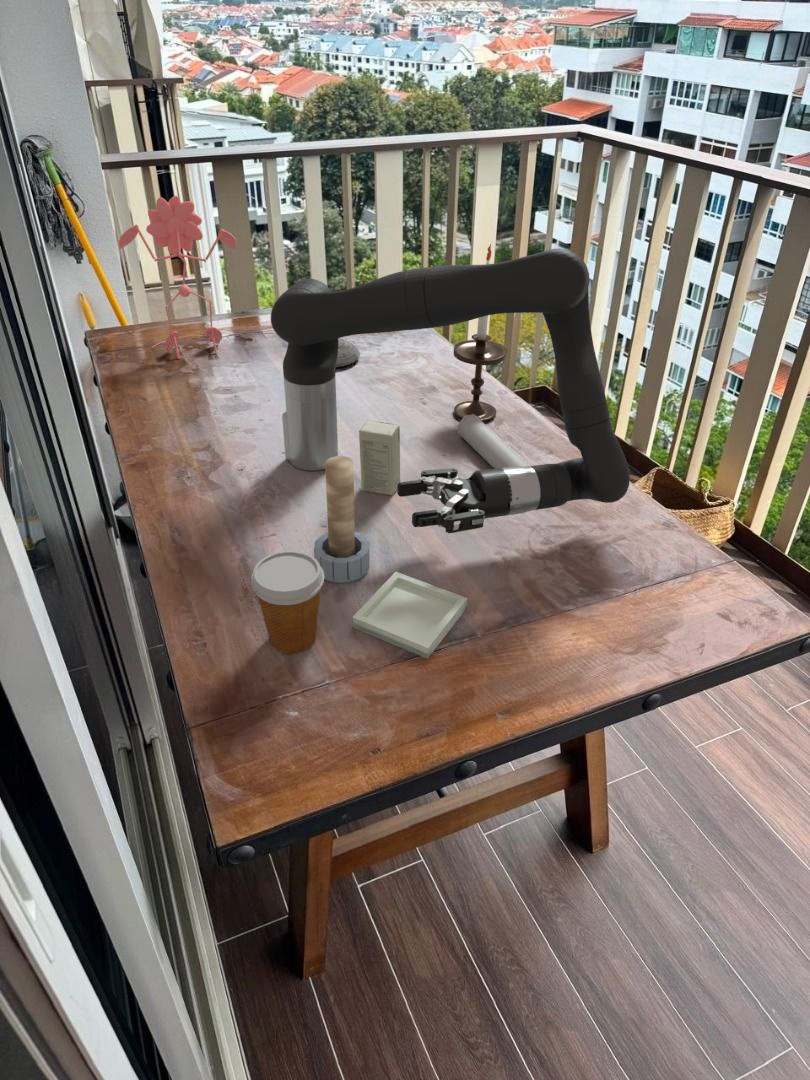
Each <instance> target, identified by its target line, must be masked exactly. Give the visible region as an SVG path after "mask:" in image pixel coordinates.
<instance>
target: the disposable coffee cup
mask: <svg viewBox="0 0 810 1080" xmlns="http://www.w3.org/2000/svg"><path fill="white" fill-rule="evenodd" d="M324 581H325V580H324V571H323V569H322V568H321V566H320V565H319V563H318V561H317V560H316V559H315V558H314V555H311V554H309V553H306V552H304V551H300V550H281V551H277V552H274V553H273V552H272V553H271V554H269V555H267V556H265V557H263V558H262V559H260V560H259V561H258V562H257V564H256V565H255V567H254V569H253V572H252V574H251V578H250V584H251V587H252V590H253V592H254V593H255V594H256V597H257V599H258V602H259V605H260V609H261V613H262V616H263V620H264V623H265V627H266V630H267V634H268V637H269V641H270V646H272V648H274V650H276V651H278V652H280V653H283V654H291V655H292V654H299V653H302V652H305V651H307V650H308V649H310V648H311V647H312V646H313V645H314V644H315V642H316V638H317V631H318V630H317V628H318V619H319V610H320V609H319V608H320V599H321V590H322V587H323V584H324Z"/></svg>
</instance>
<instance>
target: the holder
mask: <svg viewBox="0 0 810 1080" xmlns="http://www.w3.org/2000/svg"><path fill="white" fill-rule="evenodd" d="M370 547H371V546H370V541H369V539H368V538H367V537H366V536H365V535H364V534H362V533H360V532H358V531H355V555H353V556H350V557H347V558H335V557H332V556H330V555H329V540H328V532H325V533H323V534H321V535H320V536H319V537H318V538H317V539H316V540H315V541H314V547H313V557H314V558H315V559H316V560H317V561H318V563H319V565H320V566H321V568H322V569H323V571H324V581H327V582H330V583H334V584H349V583H354V582H357V581H359V580H361V579H362V578H364V577H365V576H366V575H367V574H368V572H369V570H370V556H371V555H370V551H371V549H370Z"/></svg>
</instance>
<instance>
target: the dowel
mask: <svg viewBox="0 0 810 1080" xmlns="http://www.w3.org/2000/svg"><path fill="white" fill-rule="evenodd" d="M324 470H325V490H326V511H327V513H326V514H327V533H328V540H329V555H330V556H332V557H335V558H347V557H350V556H353V555H355V532H356V531H355V528H356V526H355V524H356V523H355V486H354V484H355V481H354V480H355V477H354V476H355V475H354V474H355V473H354V461H353V459H351V458H350V457H347V456H342V455H338V456H335V457H331V458H329V459H327V460H326V462H325V469H324Z"/></svg>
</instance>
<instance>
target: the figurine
mask: <svg viewBox="0 0 810 1080" xmlns="http://www.w3.org/2000/svg"><path fill="white" fill-rule="evenodd" d="M155 208H156V209H149V210H148V211H147V217H148V218H149V220H150V221H151V223H150V224H149V225H147V226H146V232H147V233H148V234H149V235H150V236H152V237H154V238H155V239H154V246H155V247H157V248H158V249H159V248H166V247H167V251H168V252H169V254H170V255H165V256H161V257H155V255H154V253H153V251H152V249H151V247H150V246H149V244H148V242H147V240H146V238H145V237H144V235H143V233H142V231H141V230H140V228H139V227H140V226H139V225H138V224H134V225H132V226H130V227H129V228H128V229H127V230H125V231H124V232H123V233H121V234H122V235H121V236H120V237H119V240H118V248H119V250H122V249H123V248H124V247H126V246H127V245H129V244H131V243H132V241H134V240H135V238H136V237H137V236H138V235H139V236H140V238H141V240H142V242H143V244H144V245H145V248H146V249H147V251H148V252H149V254H150V256H151V258H152V260H154V262H159V261H163V260H168V259H171V258H176V257H177V258H180V259H181V261H182V262H183V270H182V271H183V272H182V273H183V274H182V284H181V285H180V286H179V287H178V293H177V294H175V296H174V297H173V298H172V299H171V301H170V302H169V303H168V304H166V306H165V313H166V316H167V319H168V320H167V321H168V324H169V328H170V331H171V332H170V333H169V335H168V336H167V338H166V339H165V340H161V341H159V342H158V343H157V344H154V345H153V346H151V348H154V347H156V346H157V345H159V344H161V343H164V348H165V350H166V351H167V352H168V353H169V352H170V351H171V350H172V349H173V348H174V349H175V352H176V356H177V357H176V358H177V360H179V359H181V356H180V353H179V348H178V344H177V342H178V341H179V339H181V338H188V337H190V335H182V336H179V332H178V331H176V330H175V331H173V326H172V323H171V318H170V315H169V311H168V307H169V306H170V305H171V304H172V303H173V302H174V301H175V300H176V298H177V297H179V295H180V296H181V297H183V298H186V297H189V296H190V295H191V294H192V295H195V296H197V297H198V298H201V299H203V300H206V301H208V302H209V315H210V316H209V320H210V327H207V328H206V329H205V334H203V335H202V334H198V335H196V334H195V335H193V337H199V336H200V337H202V336H203V337H206V338H207V339H208V340H209V341H210V342H212V343H213V345H212V346H213V349H214V353H215V354H216V355H217V354H218V350H217V349H218V348H217V346H216V345H219V344H220V343H221V341H222V339H223V333H222V331H221V330H220V329H218V328H217V327H215V326H213V317H212V316H213V315H212V313H213V311H212V301H211V299H209V298H207V297H204V296H202V295H200V294H197V292H193V291H191V289H190V287H189V286H188V285H186V284H185V283H186V281H185V280H186V272H187V261H186V260H185V258H187V259H192V260H196V261H201V262H204V263H207V261H208V259H209V257H210V256H211V254H212V253H213V250H214V249H215V247H216V245H217V244H218V242H219V241H221V243H222V244H224V245H225V246H227V247H229V248H230V249H233V250H234V249H235V248H236V246H237V239H236V237H235V236H234V235H233V234H232V233H230V232H229V231H227V230H224V228H221V229H220V230H219V231H217V237H216V239H215V241H214V242H213V244H212V245H211V247H210V249H209V251H208V253H207V255H206V257H205V258H202V257H197V256H193V255H187V254H183V253H182V251H181V250H183V251H185V252H188V253H189V252H191V251H192V250H193V247H194V241H201V240H202V239H203V232H202V230H201V229H200V227H199V226H200V225H201V224H202V223H203V220H202V218H201V217H200V216H199V215H198V214H197V213H193V212H194V210H195V204H194V202H192V201H189V200H188V201H182V202H181V198H180V196H178V195H175V196H172V197H170V199H169V200H168V201H167V200H166V199H165V198H163V197H158V198H157V199H156V203H155Z"/></svg>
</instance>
